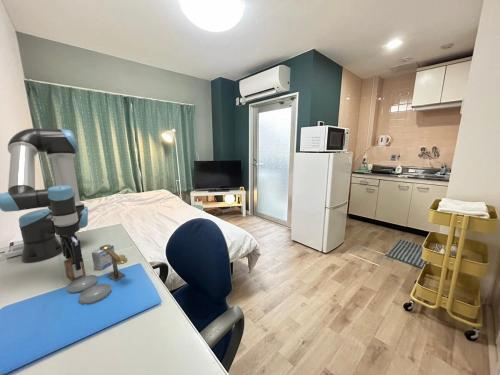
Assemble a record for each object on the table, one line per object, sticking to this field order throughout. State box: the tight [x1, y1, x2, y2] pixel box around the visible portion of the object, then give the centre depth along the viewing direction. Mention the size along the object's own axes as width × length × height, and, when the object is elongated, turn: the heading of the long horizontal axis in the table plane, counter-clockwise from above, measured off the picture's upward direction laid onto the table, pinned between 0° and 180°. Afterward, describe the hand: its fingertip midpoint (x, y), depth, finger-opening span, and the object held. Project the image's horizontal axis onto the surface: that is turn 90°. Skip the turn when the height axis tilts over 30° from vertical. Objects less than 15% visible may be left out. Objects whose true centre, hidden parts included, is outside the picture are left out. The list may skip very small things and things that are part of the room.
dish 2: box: [78, 282, 112, 305], centre depth 79 cm, size 10×10×1 cm
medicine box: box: [91, 244, 116, 271], centre depth 98 cm, size 8×4×9 cm, turn 168°
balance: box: [99, 244, 128, 282], centre depth 89 cm, size 17×4×12 cm, turn 59°
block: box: [63, 258, 87, 282], centre depth 89 cm, size 5×5×8 cm
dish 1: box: [65, 274, 99, 294], centre depth 85 cm, size 10×10×1 cm
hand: (75, 273), depth 90 cm, fingers closed on block, 5 cm apart
